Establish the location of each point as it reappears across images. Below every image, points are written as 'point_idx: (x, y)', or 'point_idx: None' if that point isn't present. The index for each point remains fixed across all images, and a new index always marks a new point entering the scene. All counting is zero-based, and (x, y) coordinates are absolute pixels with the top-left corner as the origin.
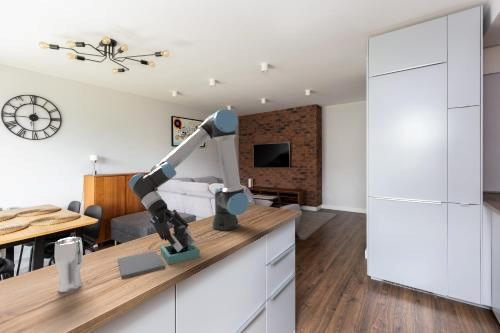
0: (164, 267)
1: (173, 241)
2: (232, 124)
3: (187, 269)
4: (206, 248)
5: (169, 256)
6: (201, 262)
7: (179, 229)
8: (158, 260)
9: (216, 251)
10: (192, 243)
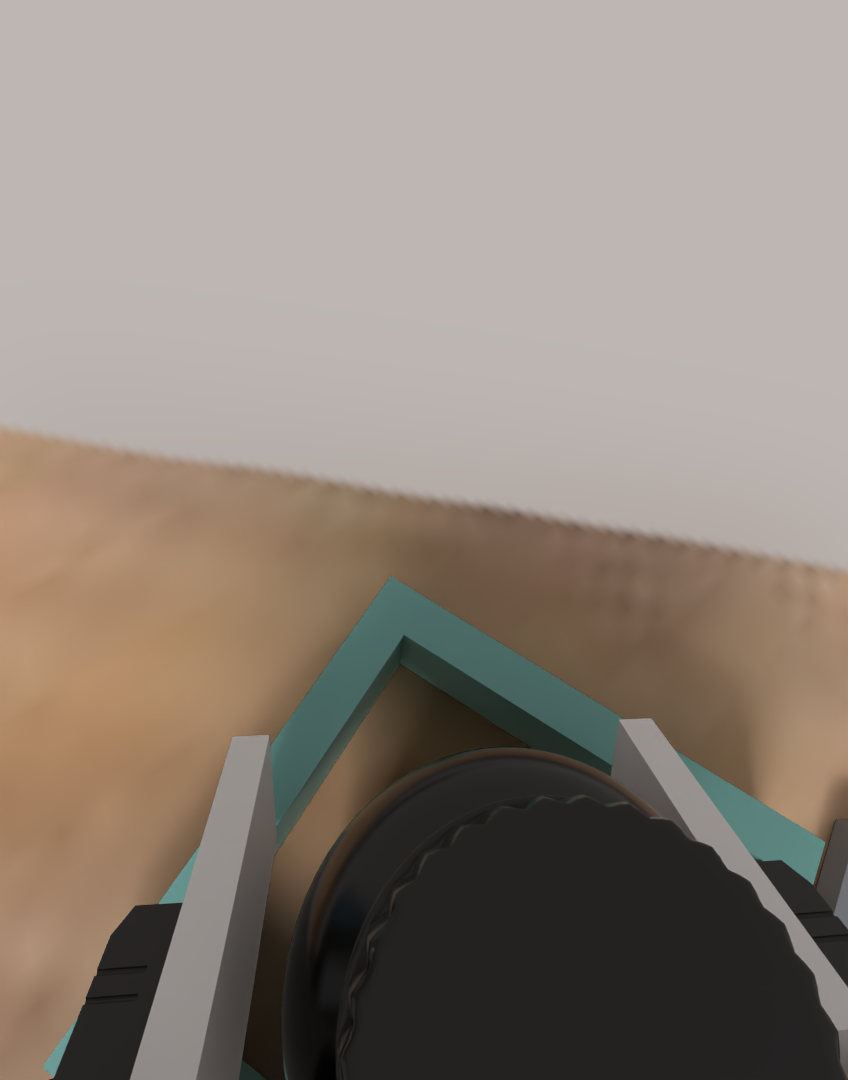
0: (840, 821)
1: (793, 899)
2: None
3: (695, 549)
4: (90, 694)
5: (802, 836)
6: (499, 512)
7: (737, 878)
8: None
9: (161, 515)
10: (188, 863)
